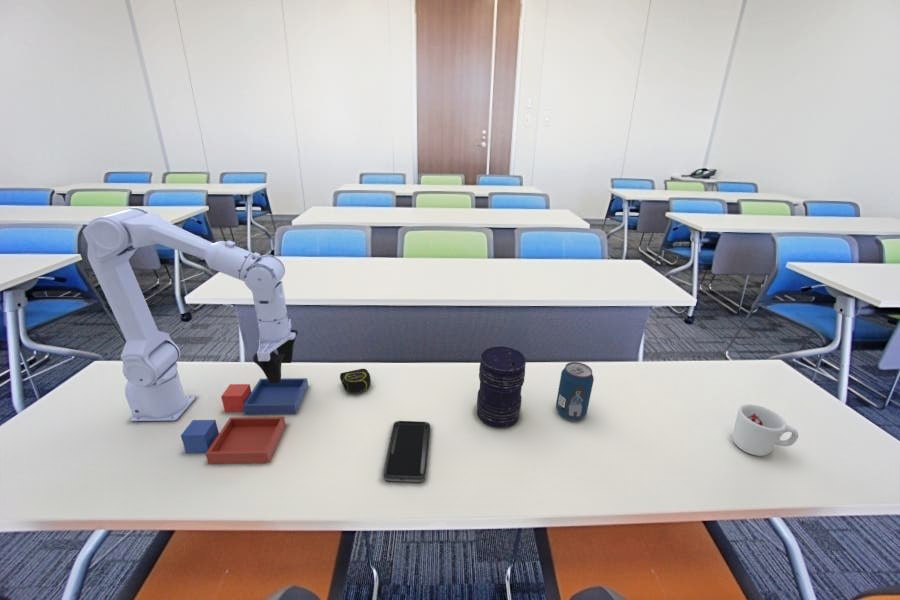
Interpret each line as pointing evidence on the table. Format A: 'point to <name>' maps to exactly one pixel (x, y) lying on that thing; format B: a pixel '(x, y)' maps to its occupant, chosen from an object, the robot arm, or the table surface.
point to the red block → (235, 397)
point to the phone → (407, 452)
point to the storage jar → (500, 386)
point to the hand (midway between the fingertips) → (281, 371)
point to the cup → (760, 430)
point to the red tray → (246, 440)
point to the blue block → (199, 436)
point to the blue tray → (276, 397)
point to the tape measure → (355, 380)
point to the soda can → (574, 391)
